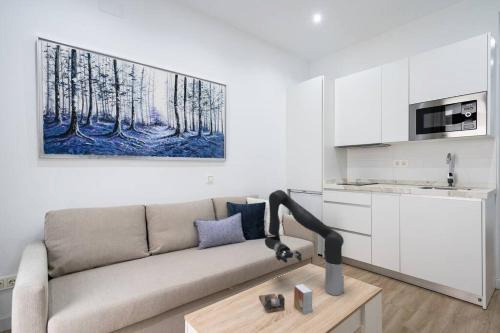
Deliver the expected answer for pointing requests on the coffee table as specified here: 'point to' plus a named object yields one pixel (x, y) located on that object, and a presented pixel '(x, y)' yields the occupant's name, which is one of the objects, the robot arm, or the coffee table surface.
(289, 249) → the robot arm
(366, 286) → the coffee table surface
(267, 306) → the stand
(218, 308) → the coffee table surface
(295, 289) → the small box
